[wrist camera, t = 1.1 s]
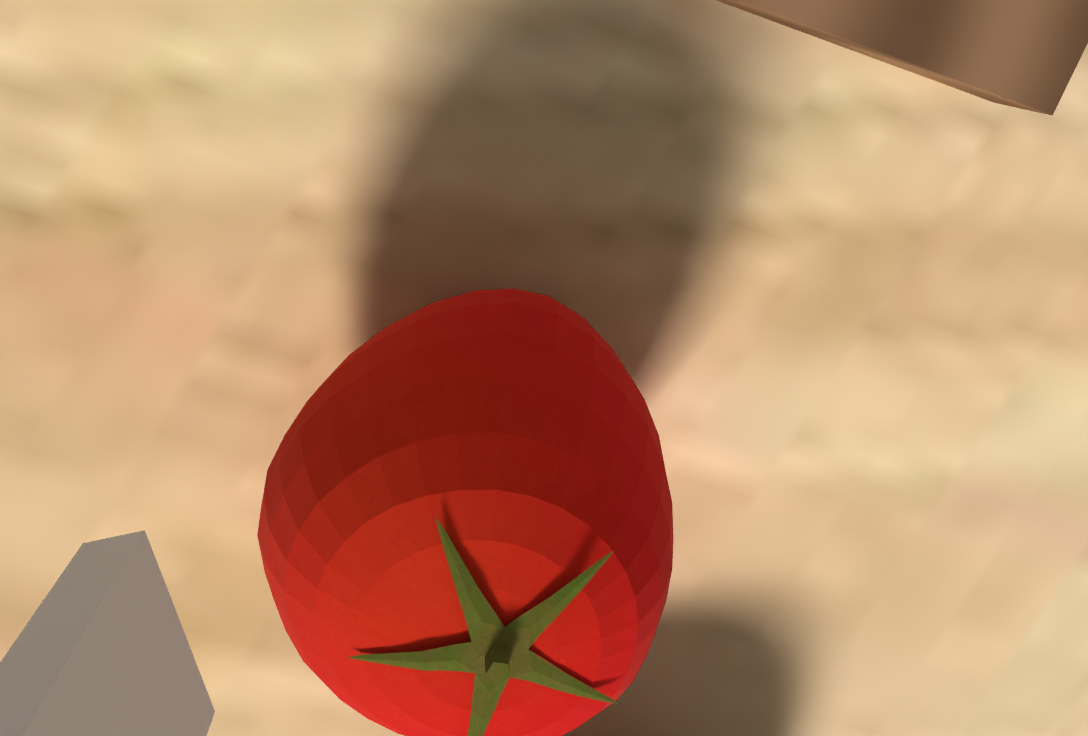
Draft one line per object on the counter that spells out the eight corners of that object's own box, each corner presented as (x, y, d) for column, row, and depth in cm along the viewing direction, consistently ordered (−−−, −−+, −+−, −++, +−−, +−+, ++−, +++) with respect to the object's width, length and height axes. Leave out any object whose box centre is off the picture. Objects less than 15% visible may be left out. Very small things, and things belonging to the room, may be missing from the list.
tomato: (524, 613, 39) (549, 935, 26) (247, 487, 36) (117, 773, 23) (702, 338, 36) (838, 547, 22) (411, 178, 33) (369, 307, 20)
